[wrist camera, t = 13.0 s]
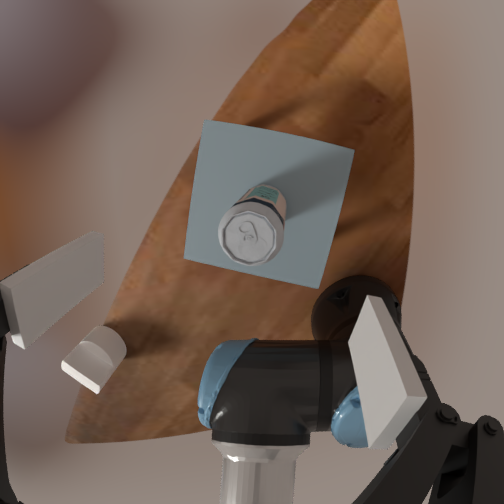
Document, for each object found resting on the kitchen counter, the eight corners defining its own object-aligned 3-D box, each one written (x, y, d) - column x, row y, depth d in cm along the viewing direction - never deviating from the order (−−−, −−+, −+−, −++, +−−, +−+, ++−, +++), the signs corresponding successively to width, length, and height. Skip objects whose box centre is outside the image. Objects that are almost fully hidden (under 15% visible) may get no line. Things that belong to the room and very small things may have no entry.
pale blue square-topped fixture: (338, 149, 41) (354, 149, 29) (312, 253, 46) (318, 289, 35) (227, 126, 41) (204, 119, 30) (209, 231, 47) (183, 258, 36)
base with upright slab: (131, 341, 57) (103, 378, 46) (121, 366, 60) (96, 402, 49) (95, 317, 56) (62, 349, 45) (88, 345, 60) (60, 376, 48)
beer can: (250, 233, 34) (228, 278, 22) (235, 191, 32) (205, 216, 21) (292, 221, 33) (292, 261, 21) (279, 178, 31) (271, 195, 20)
